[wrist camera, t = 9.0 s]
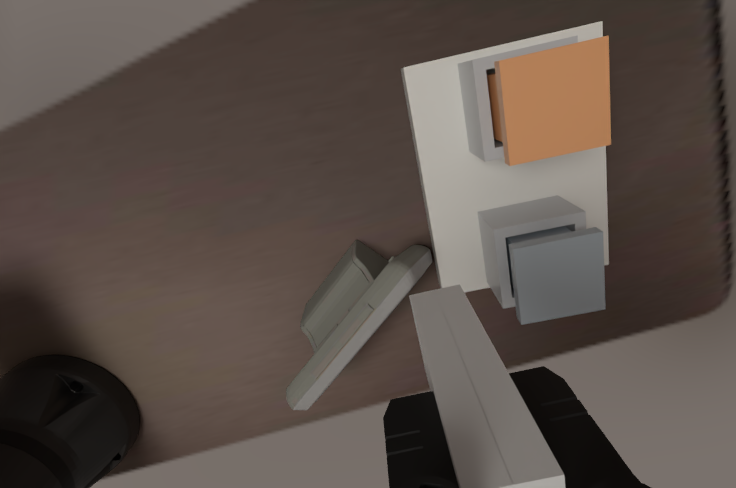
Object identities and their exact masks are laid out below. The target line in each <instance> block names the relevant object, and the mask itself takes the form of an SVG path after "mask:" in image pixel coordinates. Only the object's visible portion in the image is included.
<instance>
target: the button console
mask: <svg viewBox="0 0 736 488" xmlns="http://www.w3.org/2000/svg"><path fill="white" fill-rule="evenodd" d="M599 37H603V28H602V21H601V22H597V23H592V24H588V25H584V26H580V27H575V28H571V29H567V30H562V31H558V32H554V33H550V34H545V35H541V36H537V37H533V38H528V39H524V40H520V41H515V42H511V43H507V44H503V45H498V46H494V47H490V48H485V49H481V50H477V51H473V52H468V53H464V54H460V55H456V56H451V57H447V58H443V59H438V60H434V61H430V62H426V63H421V64H417V65H413V66H409V67H404V68H402V69H401V75H402V80H403V86H404V92H405V97H406V103H407V108H408V114H409V120H410V125H411V131H412V137H413V142H414V148H415V153H416V159H417V165H418V170H419V176H420V182H421V187H422V193H423V199H424V204H425V210H426V215H427V221H428V227H429V232H430V238H431V244H432V249H433V255H434V260H435V266H436V272H437V277H438V283H439V285H440V288H445V287H450V286H454V285H459V284H460V286H461V288H462V289H463V291H464V292H469V291H474V290H479V289H485V288H491V290H492V291H493V293H494V295H495V296H496V298H497V299H498V301H499V303H500V304H501V306H502V308H503V309H504V308H509V307H515V306H516V305H515V296H514V288H513V287H512V285H511V284H510V275H509V267H508V258H507V249H506V240H505V238H506V237H511V236H516V235H521V234H526V233H531V232H536V231H541V230H546V229H551V228H556V227H561V226H565V227H567V228H568V229H570V230H571V231H572V232H573V231H578V230H583V229H588V228H593V227H597V228H598V229H600V230H601V231H603V244H604V265H609V249H608V212H607V175H606V146H602V147H597V148H593V149H588V150H583V151H579V152H574V153H569V154H565V155H560V156H555V157H550V158H546V159H541V160H536V161H532V162H527V163H522V164H517V165H513V166H509V165H507V164H505V159H504V150H503V142H501V141H499V140H496V139H494V135H493V127H492V118H491V109H490V100H489V92H488V83H487V74H491V73H495V66H494V62H495V61H500V60H504V59H508V58H513V57H517V56H521V55H526V54H530V53H534V52H539V51H543V50H547V49H552V48H556V47H560V46H565V45H569V44H573V43H578V42H582V41H586V40H591V39H595V38H599Z"/></svg>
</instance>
